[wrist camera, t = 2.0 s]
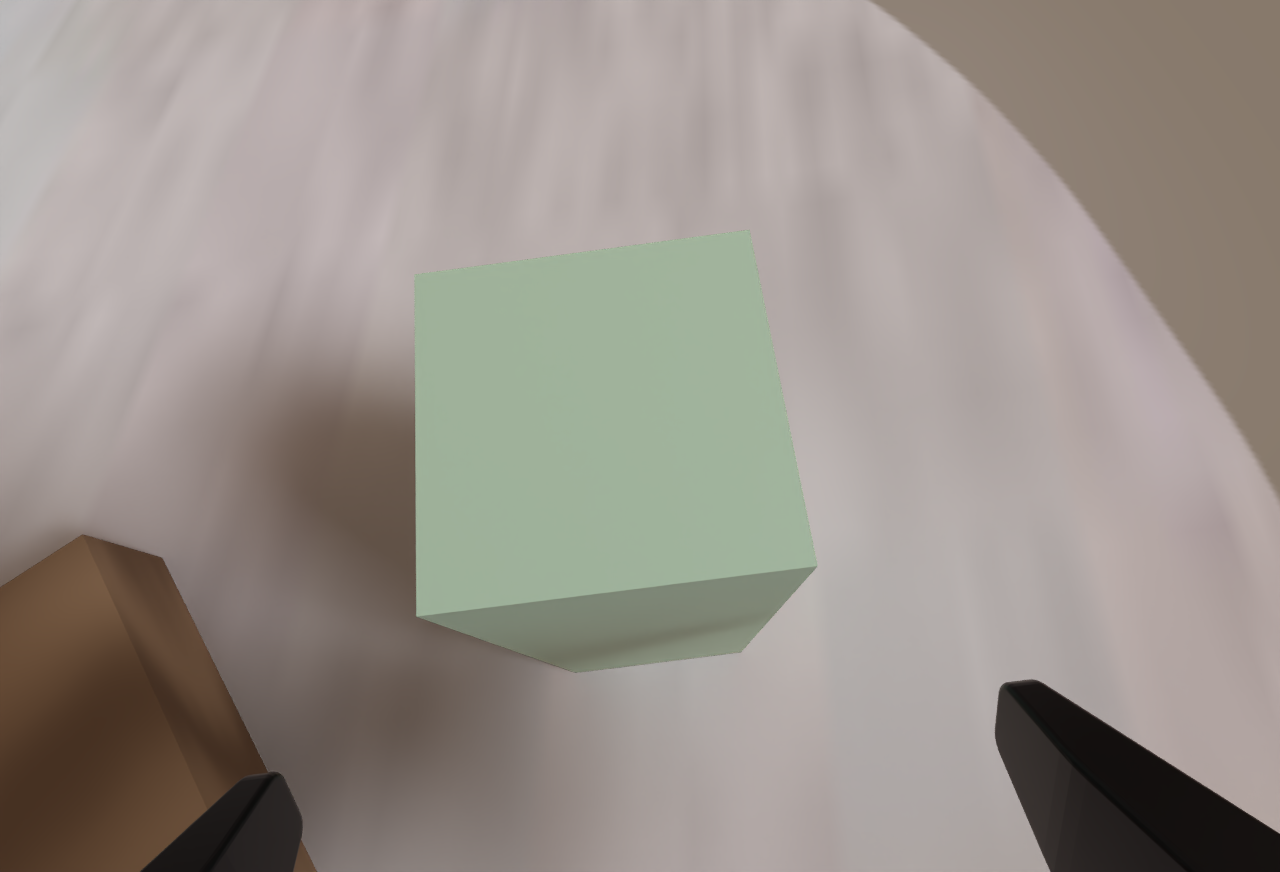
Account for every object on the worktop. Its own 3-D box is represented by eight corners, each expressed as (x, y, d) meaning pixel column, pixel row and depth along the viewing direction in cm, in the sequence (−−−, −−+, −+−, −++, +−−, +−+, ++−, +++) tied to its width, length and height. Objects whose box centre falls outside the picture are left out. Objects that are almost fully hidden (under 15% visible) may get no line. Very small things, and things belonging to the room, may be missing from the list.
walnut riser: (341, 903, 19) (268, 943, 15) (-75, 1229, 17) (-258, 1353, 14) (171, 560, 22) (82, 534, 19) (-188, 800, 20) (-357, 816, 17)
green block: (740, 652, 20) (818, 565, 8) (575, 672, 20) (416, 617, 8) (715, 493, 21) (749, 230, 10) (562, 512, 21) (414, 275, 10)
